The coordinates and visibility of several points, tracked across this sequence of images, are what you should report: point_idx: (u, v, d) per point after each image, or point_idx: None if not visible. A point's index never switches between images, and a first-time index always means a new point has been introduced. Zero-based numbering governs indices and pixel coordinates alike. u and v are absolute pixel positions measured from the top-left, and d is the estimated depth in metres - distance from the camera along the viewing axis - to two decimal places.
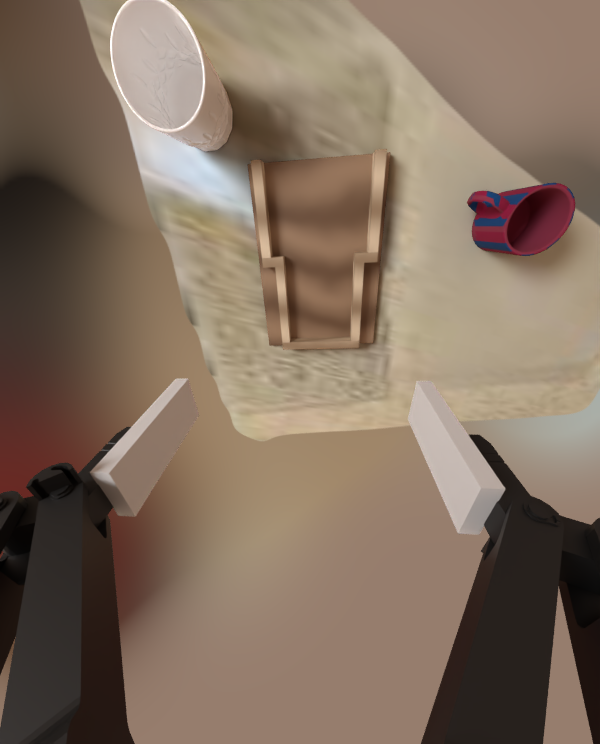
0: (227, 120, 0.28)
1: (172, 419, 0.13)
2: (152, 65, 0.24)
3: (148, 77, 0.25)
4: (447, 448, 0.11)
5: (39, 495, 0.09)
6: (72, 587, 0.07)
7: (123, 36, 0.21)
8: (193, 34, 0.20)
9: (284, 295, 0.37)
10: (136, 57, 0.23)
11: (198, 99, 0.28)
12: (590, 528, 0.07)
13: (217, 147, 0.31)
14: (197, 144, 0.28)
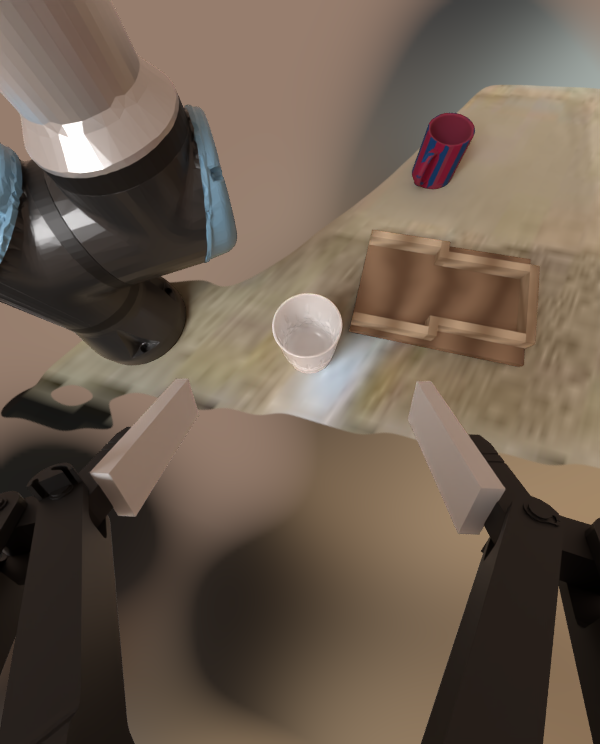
0: None
1: (172, 419, 0.13)
2: None
3: None
4: (447, 448, 0.11)
5: (39, 495, 0.09)
6: (72, 587, 0.07)
7: (281, 344, 0.29)
8: (300, 294, 0.30)
9: (468, 324, 0.35)
10: None
11: (304, 346, 0.37)
12: (590, 528, 0.07)
13: None
14: None
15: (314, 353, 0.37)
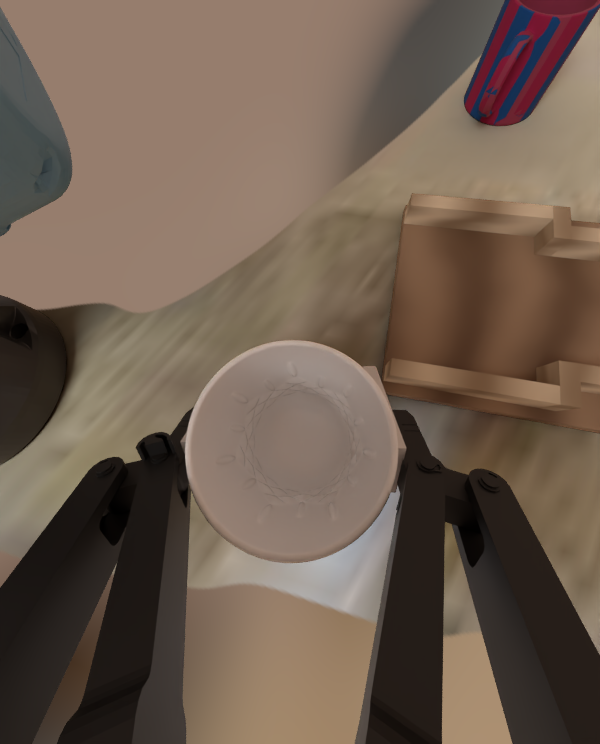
0: None
1: None
2: (248, 479, 0.14)
3: (260, 495, 0.13)
4: None
5: (143, 456, 0.10)
6: (157, 552, 0.07)
7: (216, 497, 0.10)
8: (267, 345, 0.10)
9: None
10: (240, 496, 0.12)
11: (292, 434, 0.17)
12: (467, 481, 0.09)
13: None
14: None
15: (313, 451, 0.17)
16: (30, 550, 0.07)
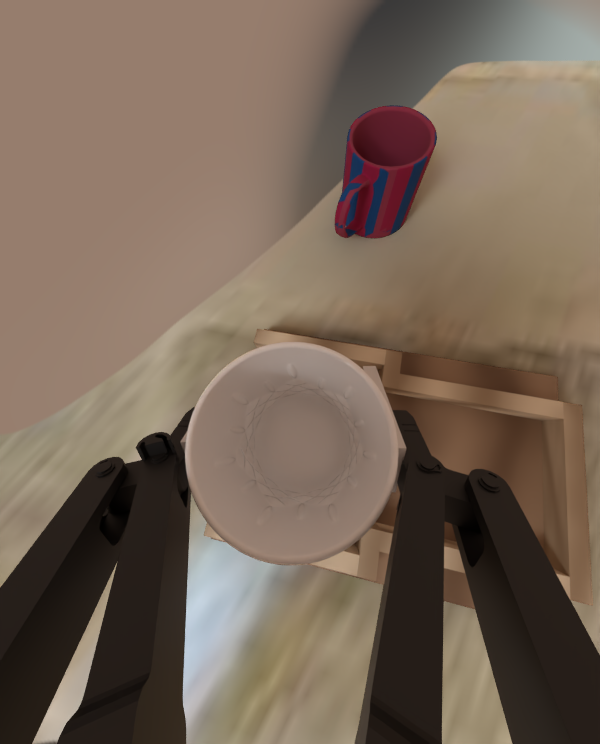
0: None
1: None
2: (248, 480, 0.14)
3: (260, 497, 0.13)
4: None
5: (144, 456, 0.10)
6: (157, 551, 0.07)
7: (216, 499, 0.10)
8: (267, 346, 0.10)
9: None
10: (240, 498, 0.12)
11: (292, 435, 0.17)
12: (467, 481, 0.09)
13: None
14: None
15: (313, 452, 0.17)
16: (30, 550, 0.07)
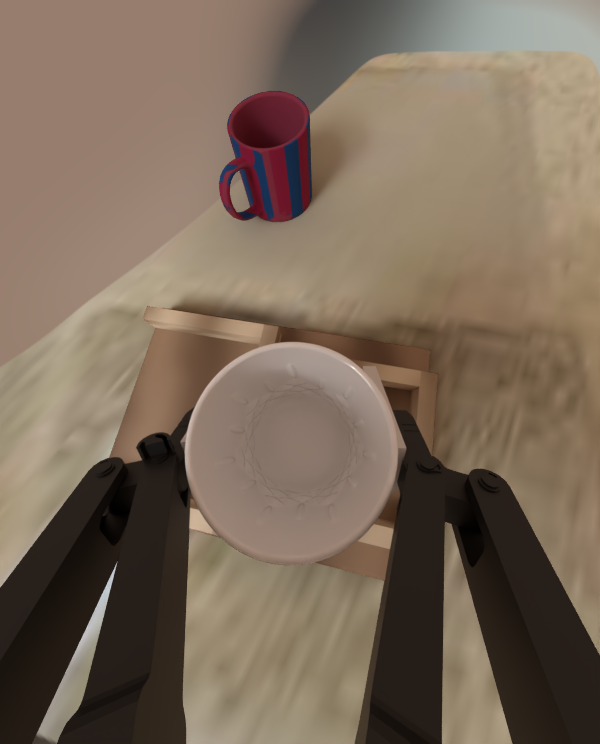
0: None
1: None
2: (248, 481, 0.14)
3: (260, 497, 0.13)
4: None
5: (143, 456, 0.10)
6: (157, 551, 0.07)
7: (216, 499, 0.10)
8: (267, 347, 0.10)
9: None
10: (239, 498, 0.12)
11: (292, 436, 0.17)
12: (467, 481, 0.09)
13: None
14: None
15: (313, 452, 0.17)
16: (30, 550, 0.07)
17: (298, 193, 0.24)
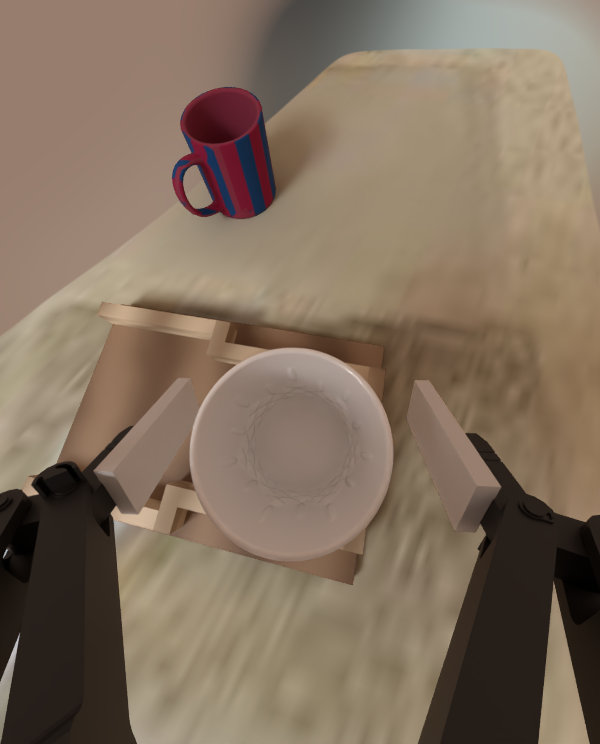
0: None
1: (174, 418, 0.13)
2: (250, 480, 0.14)
3: (261, 496, 0.14)
4: (444, 447, 0.11)
5: (43, 493, 0.09)
6: (75, 585, 0.07)
7: (219, 499, 0.10)
8: (268, 352, 0.11)
9: None
10: (241, 497, 0.12)
11: (292, 436, 0.18)
12: (584, 525, 0.08)
13: None
14: None
15: (313, 453, 0.18)
16: None
17: (258, 189, 0.24)
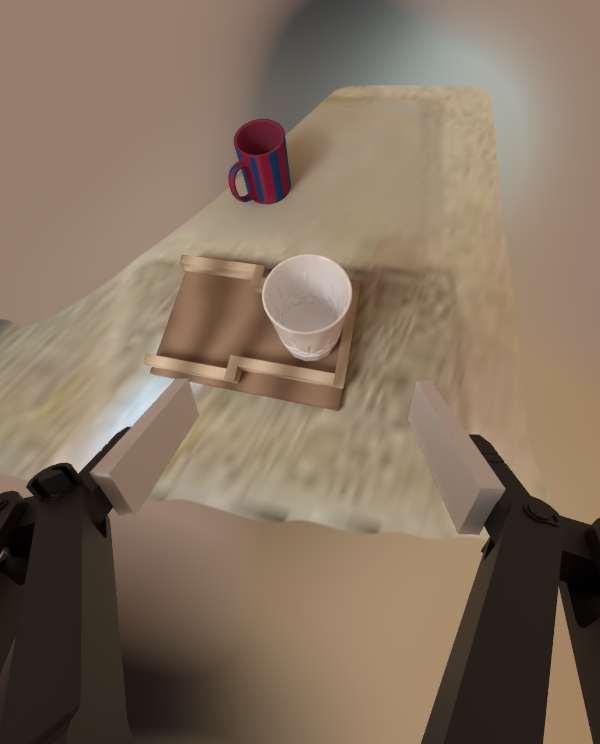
0: None
1: (172, 419, 0.13)
2: None
3: None
4: (447, 448, 0.11)
5: (39, 495, 0.09)
6: (72, 587, 0.07)
7: None
8: (296, 256, 0.23)
9: (271, 364, 0.30)
10: None
11: (304, 328, 0.30)
12: (590, 528, 0.07)
13: None
14: None
15: None
16: None
17: (280, 184, 0.37)
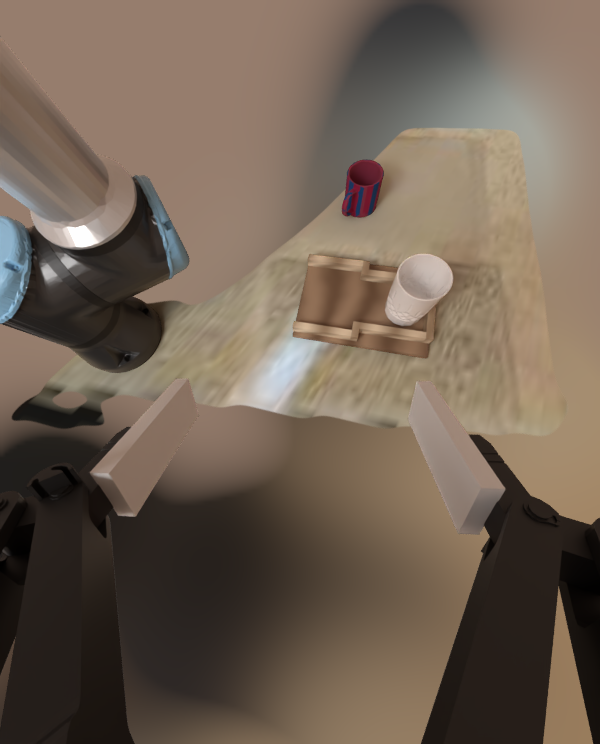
0: None
1: (172, 419, 0.13)
2: None
3: None
4: (447, 448, 0.11)
5: (39, 495, 0.09)
6: (72, 587, 0.07)
7: None
8: (415, 254, 0.38)
9: (382, 326, 0.45)
10: None
11: None
12: (590, 528, 0.07)
13: None
14: None
15: None
16: None
17: (373, 203, 0.52)
